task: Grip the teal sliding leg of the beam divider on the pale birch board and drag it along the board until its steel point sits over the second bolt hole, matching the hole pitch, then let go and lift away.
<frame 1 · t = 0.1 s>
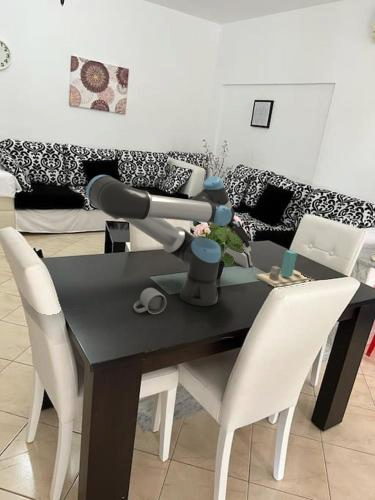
hand: (238, 246, 177), 15 cm above the table, tool tilted 35°, fingers open, 13 cm apart
ceramic mug: (148, 310, 140), on the table
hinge: (236, 262, 204), on the table
sliding leg: (288, 264, 186), point 8 cm above the table, slide at 8.0 cm
hole board: (284, 279, 188), on the table
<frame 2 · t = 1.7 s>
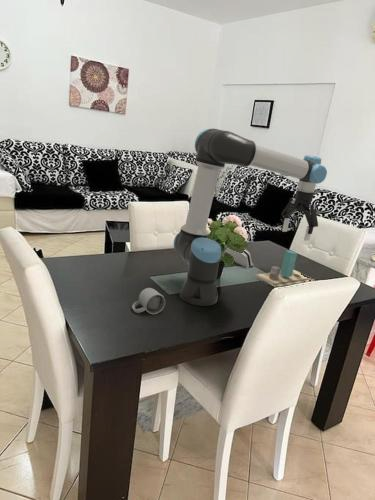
hand: (295, 235, 181), 22 cm above the table, tool pointing down, fingers open, 13 cm apart
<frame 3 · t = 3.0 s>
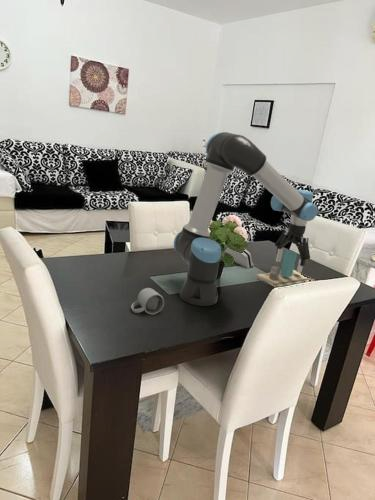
hand: (288, 266, 186), 7 cm above the table, tool pointing down, fingers open, 13 cm apart
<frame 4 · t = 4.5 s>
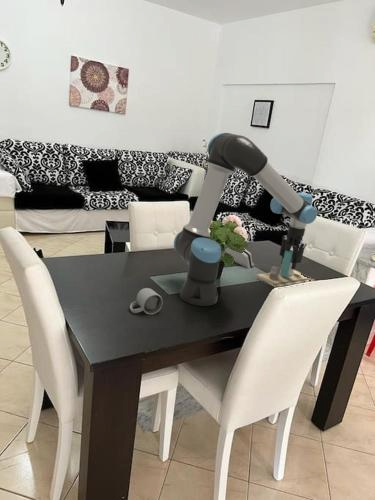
hand: (286, 272, 187), 4 cm above the table, tool pointing down, fingers closed on sliding leg, 4 cm apart
sliding leg: (288, 264, 186), point 8 cm above the table, slide at 8.0 cm, touching gripper
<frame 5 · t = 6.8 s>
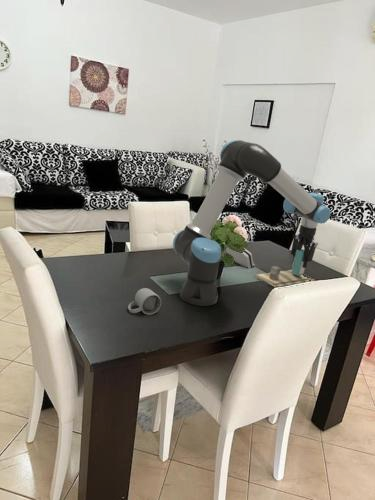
hand: (297, 271, 192), 4 cm above the table, tool pointing down, fingers closed on sliding leg, 4 cm apart
sliding leg: (299, 263, 190), point 8 cm above the table, slide at 15.9 cm, touching gripper
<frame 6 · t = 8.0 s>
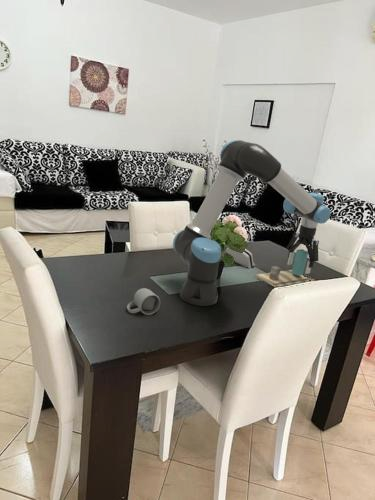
hand: (298, 268, 191), 5 cm above the table, tool pointing down, fingers open, 11 cm apart
sliding leg: (299, 263, 190), point 8 cm above the table, slide at 16.0 cm
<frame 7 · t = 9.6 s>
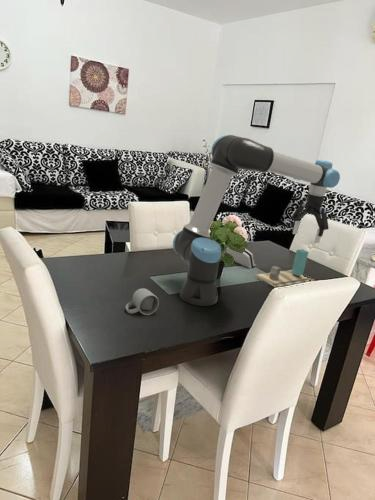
hand: (305, 238, 186), 21 cm above the table, tool pointing down, fingers open, 13 cm apart
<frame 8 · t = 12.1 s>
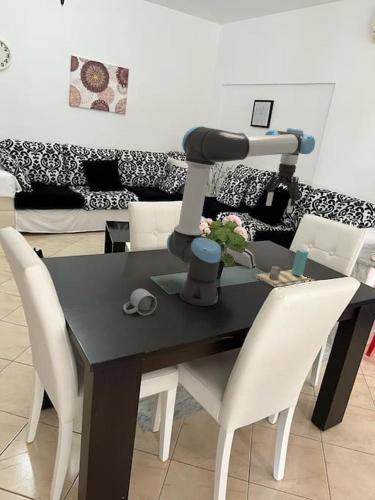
hand: (278, 209, 184), 33 cm above the table, tool pointing down, fingers open, 13 cm apart
at the end: sliding leg slide at 16.0 cm; the gripper is holding nothing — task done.
